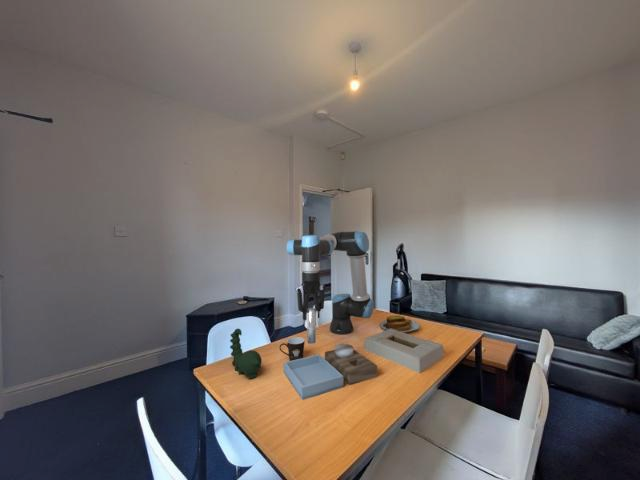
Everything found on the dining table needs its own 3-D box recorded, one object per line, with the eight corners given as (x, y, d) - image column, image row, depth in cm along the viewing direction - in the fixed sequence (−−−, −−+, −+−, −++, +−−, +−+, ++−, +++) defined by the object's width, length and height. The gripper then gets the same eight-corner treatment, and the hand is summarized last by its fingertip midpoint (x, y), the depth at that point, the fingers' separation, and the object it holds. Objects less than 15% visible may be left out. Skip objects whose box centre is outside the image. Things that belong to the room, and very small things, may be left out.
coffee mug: (307, 357, 131) (307, 338, 131) (300, 366, 123) (300, 345, 123) (286, 354, 135) (286, 335, 135) (278, 362, 127) (278, 341, 127)
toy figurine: (225, 369, 124) (249, 387, 105) (223, 329, 125) (246, 339, 106) (244, 363, 130) (269, 379, 111) (242, 324, 131) (267, 333, 112)
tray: (283, 372, 117) (283, 362, 117) (319, 363, 125) (319, 354, 125) (302, 399, 98) (302, 387, 98) (343, 387, 106) (343, 376, 106)
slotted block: (363, 351, 140) (420, 374, 115) (363, 336, 140) (420, 357, 115) (389, 340, 155) (444, 359, 130) (389, 327, 155) (444, 343, 130)
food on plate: (413, 338, 155) (413, 327, 155) (374, 330, 170) (374, 320, 170) (424, 326, 176) (424, 316, 176) (388, 319, 190) (388, 310, 190)
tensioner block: (325, 362, 127) (324, 345, 127) (349, 356, 133) (349, 340, 133) (349, 385, 107) (349, 365, 107) (377, 376, 113) (376, 358, 113)
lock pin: (306, 341, 112) (305, 308, 112) (313, 339, 113) (313, 307, 113) (309, 344, 109) (309, 310, 109) (316, 342, 110) (316, 309, 110)
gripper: (295, 274, 104) (296, 332, 104) (332, 271, 111) (332, 326, 111) (289, 271, 110) (289, 327, 111) (324, 269, 118) (324, 321, 118)
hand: (311, 326), depth 111 cm, fingers closed on lock pin, 3 cm apart
